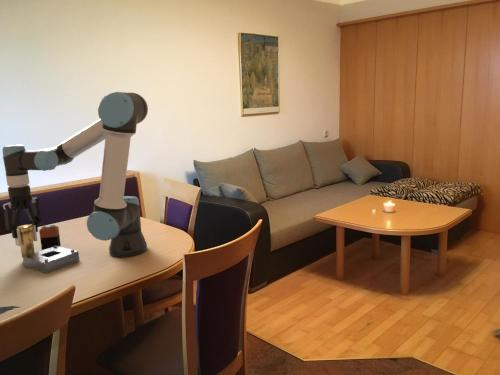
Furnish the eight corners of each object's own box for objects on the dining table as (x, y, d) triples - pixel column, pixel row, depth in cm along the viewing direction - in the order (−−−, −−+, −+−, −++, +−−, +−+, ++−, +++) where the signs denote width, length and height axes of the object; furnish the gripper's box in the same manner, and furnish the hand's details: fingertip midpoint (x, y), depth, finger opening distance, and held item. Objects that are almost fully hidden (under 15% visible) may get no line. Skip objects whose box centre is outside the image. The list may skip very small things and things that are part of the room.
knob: (39, 254, 169) (35, 225, 166) (25, 259, 164) (21, 229, 162) (31, 252, 172) (27, 223, 170) (17, 256, 167) (12, 227, 165)
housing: (79, 260, 166) (78, 249, 165) (46, 273, 154) (44, 261, 153) (57, 255, 173) (56, 244, 172) (24, 266, 162) (22, 255, 161)
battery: (58, 249, 180) (55, 226, 178) (41, 250, 179) (38, 228, 177) (61, 245, 185) (58, 223, 182) (44, 247, 183) (41, 225, 181)
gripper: (36, 180, 172) (43, 235, 177) (-12, 189, 156) (-3, 248, 161) (47, 181, 168) (54, 237, 173) (-1, 191, 152) (8, 252, 157)
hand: (26, 242), depth 167 cm, fingers closed on knob, 6 cm apart
